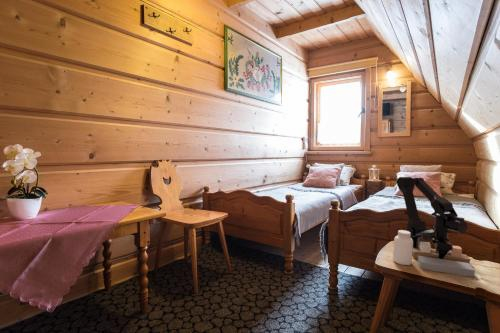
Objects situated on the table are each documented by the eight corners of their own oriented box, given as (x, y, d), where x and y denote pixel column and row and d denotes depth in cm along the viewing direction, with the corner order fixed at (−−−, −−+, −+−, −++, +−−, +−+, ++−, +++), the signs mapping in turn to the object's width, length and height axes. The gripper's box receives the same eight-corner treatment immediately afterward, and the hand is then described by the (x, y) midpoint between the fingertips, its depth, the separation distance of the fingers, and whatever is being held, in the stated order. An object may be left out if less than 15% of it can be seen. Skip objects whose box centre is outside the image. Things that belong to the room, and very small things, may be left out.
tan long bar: (411, 254, 146) (412, 247, 145) (465, 261, 137) (466, 254, 137) (413, 258, 141) (413, 251, 140) (469, 266, 132) (470, 259, 132)
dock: (417, 261, 136) (418, 255, 136) (468, 269, 129) (468, 263, 128) (420, 268, 129) (420, 262, 129) (474, 277, 121) (474, 270, 121)
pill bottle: (414, 266, 131) (416, 235, 130) (395, 264, 133) (397, 233, 131) (408, 259, 139) (410, 229, 138) (390, 257, 141) (392, 228, 139)
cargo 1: (419, 248, 144) (420, 241, 143) (428, 250, 142) (429, 242, 142) (421, 251, 140) (421, 243, 139) (430, 253, 138) (430, 245, 138)
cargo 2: (449, 252, 139) (449, 245, 138) (458, 254, 137) (459, 246, 137) (451, 256, 135) (451, 247, 135) (461, 257, 133) (462, 249, 133)
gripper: (419, 219, 149) (417, 248, 150) (425, 229, 132) (423, 262, 133) (444, 222, 145) (442, 251, 146) (454, 233, 127) (451, 266, 129)
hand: (439, 257), depth 139 cm, fingers closed on tan long bar, 5 cm apart
